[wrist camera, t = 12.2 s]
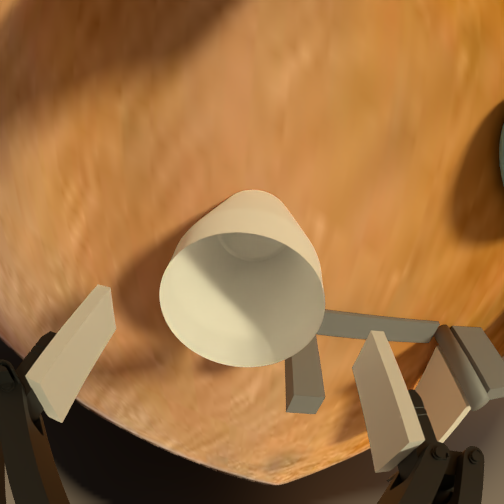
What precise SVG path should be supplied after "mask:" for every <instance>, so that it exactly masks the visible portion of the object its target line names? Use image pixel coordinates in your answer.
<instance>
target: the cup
mask: <svg viewBox="0 0 504 504" xmlns="http://www.w3.org/2000/svg"><path fill="white" fill-rule="evenodd" d="M159 298H160V306H161V310H162V313H163V316H164V318H165V321H166V323H167V324H168V326H169V328H170V329H171V331H172V332H173V333H174V335H175V336H176V337H177V338H178V339H179V340H180V341H181V342H182V343H183V344H184V345H185V346H187V347H188V348H189V349H191V350H192V351H193V352H195V353H197V354H198V355H200V356H202V357H204V358H206V359H209V360H211V361H214V362H217V363H220V364H224V365H229V366H236V367H259V366H266V365H270V364H274V363H277V362H280V361H283V360H285V359H287V358H289V357H291V356H293V355H295V354H296V353H298V352H299V351H300V350H302V349H303V348H304V347H305V346H306V345H307V344H308V343H309V342H310V341H311V340H312V339H313V338H314V336H315V335H316V333H317V331H318V330H319V328H320V326H321V323H322V320H323V317H324V312H325V295H324V289H323V282H322V275H321V267H320V262H319V259H318V256H317V254H316V252H315V249H314V247H313V245H312V244H311V242H310V240H309V239H308V237H307V236H306V234H305V233H304V232H303V230H302V229H301V227H300V226H299V224H298V223H297V222H296V220H295V219H294V217H293V216H292V215H291V213H290V212H289V210H288V209H287V208H286V206H285V205H284V204H283V203H282V202H281V201H280V200H279V199H278V198H277V197H275V196H274V195H272V194H270V193H268V192H265V191H261V190H245V191H241V192H238V193H236V194H234V195H232V196H231V197H229V198H228V199H226V200H225V201H224V202H222V203H221V204H220V205H218V206H217V207H216V208H214V209H213V210H212V211H210V212H209V213H208V214H206V215H205V216H204V217H203V218H201V219H200V220H199V221H198V222H196V223H195V224H194V225H193V226H192V227H191V228H190V229H189V230H188V231H187V232H186V233H185V234H184V236H183V237H182V238H181V240H180V241H179V243H178V245H177V247H176V249H175V252H174V254H173V256H172V258H171V260H170V262H169V264H168V266H167V268H166V270H165V272H164V274H163V277H162V280H161V284H160V293H159Z"/></svg>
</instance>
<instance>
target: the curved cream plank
mask: <svg viewBox="0 0 504 504" xmlns="http://www.w3.org/2000/svg"><path fill="white" fill-rule="evenodd" d="M415 391H416V392H417V393H418V394H419V396H420V397H421V399H422V401H423V404H424V408H425V409H426V412H427V415H428V417H429V420H430V422H431V425H432V428H433V431H434V434H435V436H436V439H437V441H438V442H441V443H443V442H444V441H445V440H446V438H447V437H448V436H449V435H450V434H451V433H452V432H453V430H454V429H455V428H456V427H457V426H458V424H459V423H460V422H461V421H462V420H463V418H464V417H465V416H466V414H467V413H468V412H469V411H470V409H471V407H470V405H469V403H468V401H467V399H466V396H465V394H464V392H463V390H462V388H461V386H460V384H459V382H458V380H457V378H456V376H455V374H454V372H453V370H452V368H451V366H450V364H449V363H448V361H447V359H446V357H445V355H444V353H443V351H442V350H441V348H440V346H439V345H438V346H436V348H435V350H434V352H433V354H432V357H431V359H430V361H429V363H428V365H427V367H426V369H425V371H424V373H423V375H422V377H421V379H420V381H419V383H418V385H417V387H416V388H415Z"/></svg>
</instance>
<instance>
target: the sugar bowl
mask: <svg viewBox="0 0 504 504" xmlns="http://www.w3.org/2000/svg"><path fill="white" fill-rule="evenodd" d="M499 162H500V170H501V176H502V181H503V185H504V124H503V127H502V131H501V136H500V144H499Z"/></svg>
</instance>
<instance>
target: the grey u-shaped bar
mask: <svg viewBox="0 0 504 504" xmlns="http://www.w3.org/2000/svg"><path fill="white" fill-rule="evenodd" d="M439 325H440V324H439V322H437V321H425V320H414V319H404V318H394V317H384V316H375V315H366V314H357V313H349V312H341V311H333V310H325V312H324V317H323V320H322V323H321V326H320V328H319V330H318V331H317V333H316V334H318V335H327V336H337V337H347V338H358V339H367V337H368V335H369V333H370V331H371V330H372V331H384V333H385V336H386V338H387V340H388V341H399V342H417V343H429V342H430V340H431V338H432V337H433V335H434V337H435V339H436V341H437V342H438V344H439V346H440V348H441V350H442V351H443V353H444V355H445V357H446V359H447V361H448V363H449V364H450V366H451V368H452V370H453V372H454V374H455V376H456V378H457V380H458V382H459V384H460V386H461V388H462V390H463V392H464V394H465V396H466V399H467V401H468V403H469V405H470V407H471V409H472V411H476V410H478V409H480V408H481V407H483V406H484V405H485V404H486V403H487V402H488V400H491V399H495V398H500V397H504V361H503V359H502V358H501V356H500V355H499V353H498V352H497V350H496V349H495V347H494V346H493V344H492V343H491V341H490V340H489V338H488V337H487V335H486V334H485V333H484V331H483V330H482V328H480V327H462V326H452V328H451V329H449V327H448V326H447V325H442V326H440V327H438V326H439ZM285 383H286V412H290V413H305V414H316V412H317V411H318V409H319V407H320V405H321V404H322V402H323V400H324V399H325V392H324V385H323V378H322V371H321V364H320V358H319V351H318V345H317V339H316V335H315V336H314V338H313V339H312V340H311V341H310V342H309V343H308V344H307V345H306V346H305V347H304V348H303V349H302V350H300V351H299V352H298V353H296V354H295V355H293V356H291V357H289V358H287V359H285Z"/></svg>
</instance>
